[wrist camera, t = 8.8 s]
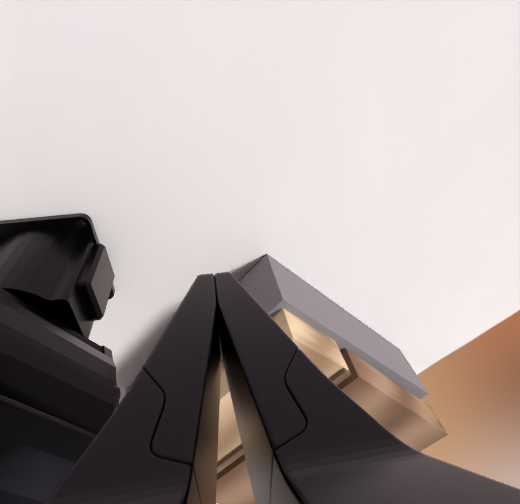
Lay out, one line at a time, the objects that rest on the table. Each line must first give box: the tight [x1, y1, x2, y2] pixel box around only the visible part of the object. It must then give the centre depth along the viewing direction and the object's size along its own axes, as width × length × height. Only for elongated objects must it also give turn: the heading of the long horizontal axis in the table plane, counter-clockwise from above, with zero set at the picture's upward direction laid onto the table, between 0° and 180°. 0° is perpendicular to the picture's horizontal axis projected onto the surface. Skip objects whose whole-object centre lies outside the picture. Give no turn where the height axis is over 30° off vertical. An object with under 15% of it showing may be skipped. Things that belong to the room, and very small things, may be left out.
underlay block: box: [126, 254, 429, 399], centre depth 30 cm, size 19×18×5 cm
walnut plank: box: [216, 348, 447, 504], centre depth 28 cm, size 12×17×2 cm
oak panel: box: [217, 308, 351, 473], centre depth 24 cm, size 5×17×3 cm, turn 136°
